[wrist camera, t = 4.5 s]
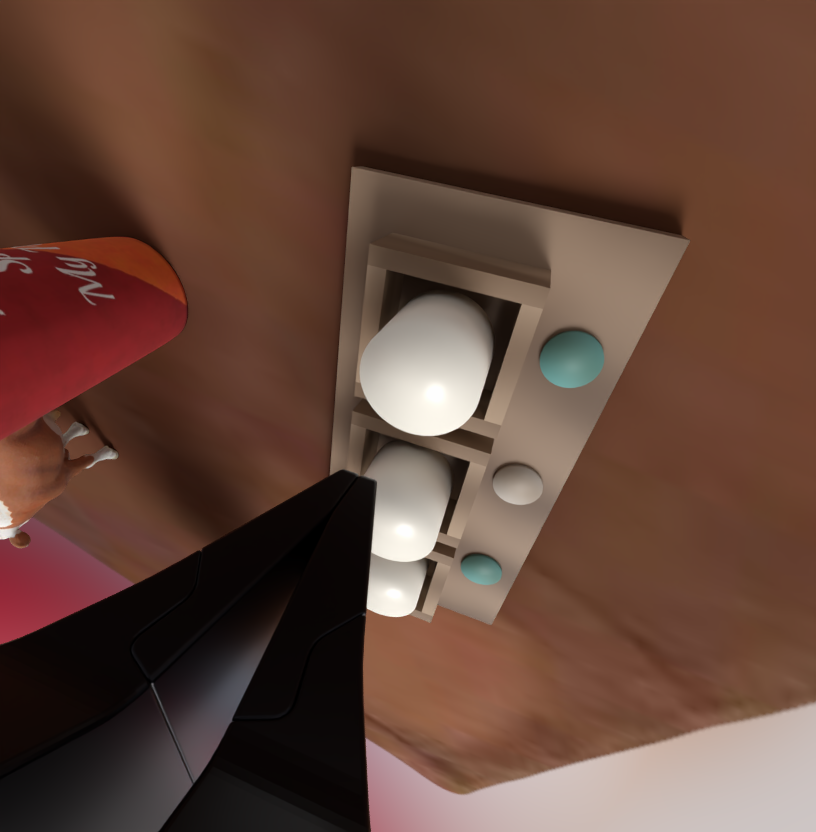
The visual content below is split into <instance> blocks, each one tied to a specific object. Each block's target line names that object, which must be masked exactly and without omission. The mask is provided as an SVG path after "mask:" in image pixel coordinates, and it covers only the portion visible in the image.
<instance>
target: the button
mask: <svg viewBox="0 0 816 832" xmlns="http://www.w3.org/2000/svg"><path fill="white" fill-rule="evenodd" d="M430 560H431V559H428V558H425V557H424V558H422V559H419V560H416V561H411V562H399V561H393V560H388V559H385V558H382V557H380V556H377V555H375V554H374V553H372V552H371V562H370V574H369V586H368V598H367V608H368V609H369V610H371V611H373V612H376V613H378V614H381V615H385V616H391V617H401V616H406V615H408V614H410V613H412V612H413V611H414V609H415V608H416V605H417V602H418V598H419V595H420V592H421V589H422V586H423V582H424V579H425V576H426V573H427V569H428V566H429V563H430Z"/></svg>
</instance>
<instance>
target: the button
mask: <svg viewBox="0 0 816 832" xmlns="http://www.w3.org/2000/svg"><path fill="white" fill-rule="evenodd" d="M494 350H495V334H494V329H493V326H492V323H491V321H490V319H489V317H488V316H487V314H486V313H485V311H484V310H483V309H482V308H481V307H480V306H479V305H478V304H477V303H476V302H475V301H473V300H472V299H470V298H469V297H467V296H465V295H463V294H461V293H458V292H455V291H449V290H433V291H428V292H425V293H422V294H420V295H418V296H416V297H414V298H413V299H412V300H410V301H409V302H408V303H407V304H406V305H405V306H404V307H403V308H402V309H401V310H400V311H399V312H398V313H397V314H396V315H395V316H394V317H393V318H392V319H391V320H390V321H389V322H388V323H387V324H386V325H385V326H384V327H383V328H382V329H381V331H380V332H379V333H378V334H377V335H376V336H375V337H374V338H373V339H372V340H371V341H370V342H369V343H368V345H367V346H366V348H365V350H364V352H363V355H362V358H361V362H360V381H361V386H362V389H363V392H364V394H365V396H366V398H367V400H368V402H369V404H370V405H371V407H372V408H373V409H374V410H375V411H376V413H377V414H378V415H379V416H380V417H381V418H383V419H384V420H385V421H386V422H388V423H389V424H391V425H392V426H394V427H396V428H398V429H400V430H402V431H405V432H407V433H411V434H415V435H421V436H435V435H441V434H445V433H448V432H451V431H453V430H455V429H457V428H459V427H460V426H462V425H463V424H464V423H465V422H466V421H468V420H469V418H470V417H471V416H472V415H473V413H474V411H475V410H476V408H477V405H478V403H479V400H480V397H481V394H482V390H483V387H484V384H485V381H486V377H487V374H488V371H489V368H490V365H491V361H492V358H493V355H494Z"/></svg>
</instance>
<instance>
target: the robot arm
mask: <svg viewBox="0 0 816 832" xmlns="http://www.w3.org/2000/svg"><path fill="white" fill-rule="evenodd" d="M376 491H377V481H376V480H375V479H372V478H369V477H366V476H363V475H361V476H359V475H358V474H357V473H354V472H351V471H348V470H345V469H341V470H339V471H337V472H335V473H334V474H332V475H330V476H328V477H327V478H325V479H323V480H321V481H320V482H318V483H316V484H314V485H313V486H311V487H309V488H307V489H305V490H304V491H302V492H300V493H298V494H297V495H295V496H293V497H291V498H290V499H288V500H286V501H284V502H283V503H281V504H279V505H277V506H276V507H274V508H272V509H270V510H269V511H267V512H265V513H263V514H262V515H260V516H258V517H256V518H255V519H253V520H251V521H249V522H248V523H246V524H244V525H242V526H241V527H239V528H237V529H235V530H234V531H232V532H230V533H228V534H227V535H225V536H223V537H221V538H220V539H218V540H216V541H214V542H212V543H211V544H209V545H207V546H205V547H204V548H202V552H201V551H200V550H199V551H196V552H195V553H193V554H191V555H189V556H188V557H186V558H184V559H182V560H181V561H179V562H177V563H175V564H173V565H171V566H170V567H168V568H166V569H164V570H162V571H160V572H158V573H157V574H155V575H153V576H151V577H149V578H147V579H145V580H143V581H141V582H139V583H137V584H135V585H133V586H131V587H128V588H126V589H124V590H122V591H120V592H118V593H116V594H114V595H112V596H110V597H108V598H105V599H103V600H101V601H99V602H97V603H95V604H92V605H90V606H88V607H86V608H84V609H82V610H80V611H78V612H75V613H73V614H71V615H69V616H67V617H65V618H63V619H60V620H58V621H56V622H54V623H52V624H50V625H47V626H45V627H43V628H41V629H39V630H37V631H34V632H32V633H30V634H27V635H25V636H23V637H20V638H17V639H15V640H12V641H9V642H7V643H4V644H0V832H371V828H370V816H369V801H368V782H367V760H366V740H365V719H364V696H363V655H364V635H365V624H366V609H367V598H368V586H369V574H370V562H371V550H372V539H373V527H374V515H375V503H376Z"/></svg>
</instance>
